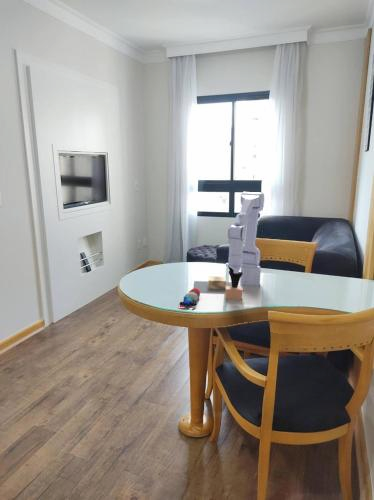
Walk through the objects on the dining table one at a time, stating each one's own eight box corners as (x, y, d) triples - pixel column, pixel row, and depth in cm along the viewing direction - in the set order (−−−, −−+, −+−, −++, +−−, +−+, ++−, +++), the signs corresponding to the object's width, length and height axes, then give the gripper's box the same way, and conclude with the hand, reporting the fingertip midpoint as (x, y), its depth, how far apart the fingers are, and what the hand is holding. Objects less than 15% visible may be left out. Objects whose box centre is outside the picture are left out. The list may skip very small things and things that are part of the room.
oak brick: (225, 284, 172) (225, 276, 171) (225, 289, 166) (226, 281, 165) (208, 284, 172) (208, 276, 171) (208, 288, 167) (208, 280, 166)
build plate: (235, 283, 176) (235, 282, 176) (237, 295, 160) (237, 294, 160) (194, 281, 177) (194, 281, 177) (192, 293, 161) (192, 292, 161)
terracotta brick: (241, 297, 158) (241, 286, 157) (241, 301, 154) (242, 290, 153) (225, 296, 159) (225, 286, 157) (225, 300, 155) (226, 289, 154)
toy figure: (194, 314, 144) (205, 295, 157) (193, 303, 142) (204, 285, 155) (177, 312, 147) (189, 294, 160) (175, 302, 145) (187, 284, 158)
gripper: (225, 249, 159) (224, 278, 162) (226, 258, 145) (225, 289, 148) (241, 249, 158) (240, 279, 162) (244, 258, 144) (242, 290, 148)
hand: (234, 284), depth 155 cm, fingers open, 7 cm apart
